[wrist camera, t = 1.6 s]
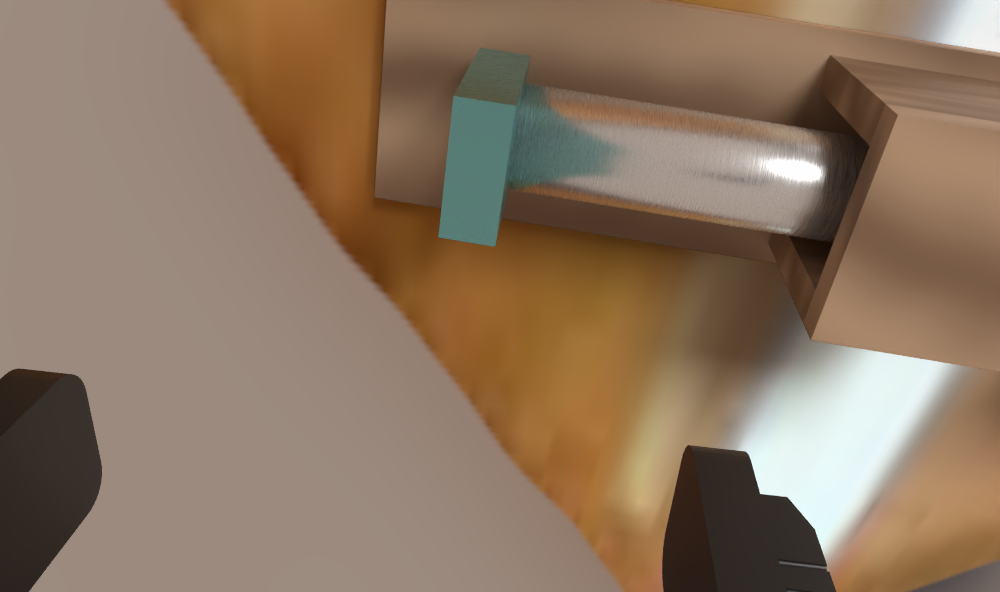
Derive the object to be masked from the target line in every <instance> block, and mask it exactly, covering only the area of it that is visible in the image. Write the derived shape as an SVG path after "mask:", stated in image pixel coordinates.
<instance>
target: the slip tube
mask: <svg viewBox="0 0 1000 592" xmlns="http://www.w3.org/2000/svg"><path fill="white" fill-rule="evenodd" d="M530 56H531V55H525V54H518V53H512V52H506V51H500V50H493V49H487V48H481V47H480V48H479V50H478V52H477V54H476V56H475V57H474V59H473V61H472V63H471V65H470V67H469V68H468V70H467V72H466V74H465V76H464V78H463V79H462V81H461V83H460V85H459V87H458V88H457V90H456V92H455V94H454V96H453V105H452V114H451V124H450V133H449V143H448V152H447V161H446V171H445V180H444V189H443V199H442V208H441V217H440V227H439V236H438V237H439V238H445V239H451V240H457V241H463V242H469V243H475V244H481V245H487V246H493V247H495V246H496V242H497V238H498V233H499V229H500V225H501V221H502V217H503V213H504V208H505V204H506V200H507V196H508V192H509V190H514V191H521V192H527V193H533V194H539V195H545V196H551V197H557V198H563V199H569V200H576V201H582V202H588V203H594V204H600V205H606V206H612V207H618V208H624V209H631V210H637V211H643V212H649V213H655V214H661V215H667V216H673V217H679V218H685V219H692V220H698V221H704V222H710V223H716V224H722V225H728V226H734V227H740V228H747V229H753V230H759V231H765V232H771V233H777V234H783V235H789V236H795V237H802V238H808V239H814V240H820V241H826V242H832V243H833V242H834V240H835V237H836V234H837V232H838V229H839V226H840V224H841V221H842V218H843V216H844V213H845V210H846V208H847V205H848V202H849V200H850V197H851V194H852V192H853V189H854V186H855V184H856V181H857V179H858V176H859V173H860V171H861V168H862V165H863V163H864V160H865V157H866V155H867V152H868V149H869V147H870V146H869V145H868V144H867V143H866V141H865V140H864V139H863V138H862V137H858V136H852V135H845V134H839V133H833V132H827V131H820V130H814V129H808V128H802V127H796V126H789V125H783V124H777V123H771V122H765V121H758V120H752V119H746V118H740V117H734V116H727V115H721V114H715V113H709V112H702V111H696V110H690V109H684V108H678V107H671V106H665V105H659V104H653V103H647V102H640V101H634V100H628V99H622V98H615V97H609V96H603V95H597V94H591V93H584V92H578V91H572V90H566V89H560V88H553V87H547V86H541V85H535V84H529V83H526V82H527V75H528V69H529V62H530Z"/></svg>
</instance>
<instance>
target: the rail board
mask: <svg viewBox="0 0 1000 592" xmlns="http://www.w3.org/2000/svg"><path fill="white" fill-rule="evenodd" d="M480 47H481V48H487V49H493V50H500V51H506V52H512V53H518V54H525V55H531V56H530V62H529V69H528V75H527V82H526V83H529V84H535V85H541V86H547V87H553V88H560V89H566V90H572V91H578V92H584V93H591V94H597V95H603V96H609V97H615V98H622V99H628V100H634V101H640V102H647V103H653V104H659V105H665V106H671V107H678V108H684V109H690V110H696V111H702V112H709V113H715V114H721V115H727V116H734V117H740V118H746V119H752V120H758V121H765V122H771V123H777V124H783V125H789V126H796V127H802V128H808V129H814V130H820V131H827V132H833V133H839V134H845V135H852V136H858V137H862V138H863V139H864V140H865V141H866V143H867V144H868V145H869V146H870V147H869V149H868V152H867V155H866V157H865V160H864V163H863V165H862V168H861V171H860V173H859V176H858V179H857V181H856V184H855V186H854V189H853V192H852V194H851V197H850V200H849V202H848V205H847V208H846V210H845V213H844V216H843V218H842V221H841V224H840V226H839V229H838V232H837V234H836V237H835V240H834V242H833V243H832V242H826V241H820V240H814V239H808V238H802V237H795V236H789V235H783V234H777V233H771V232H765V231H759V230H753V229H747V228H740V227H734V226H728V225H722V224H716V223H710V222H704V221H698V220H692V219H685V218H679V217H673V216H667V215H661V214H655V213H649V212H643V211H637V210H631V209H624V208H618V207H612V206H606V205H600V204H594V203H588V202H582V201H576V200H569V199H563V198H557V197H551V196H545V195H539V194H533V193H527V192H521V191H514V190H509V192H508V196H507V200H506V204H505V208H504V213H503V217H502V219H508V220H514V221H520V222H526V223H533V224H539V225H545V226H551V227H557V228H563V229H569V230H575V231H581V232H587V233H593V234H599V235H606V236H612V237H618V238H624V239H630V240H636V241H642V242H648V243H654V244H660V245H666V246H672V247H678V248H685V249H691V250H697V251H703V252H709V253H715V254H721V255H727V256H733V257H739V258H745V259H751V260H757V261H764V262H770V263H776V264H778V267H779V269H780V271H781V273H782V276H783V278H784V280H785V283H786V285H787V287H788V289H789V292H790V294H791V296H792V298H793V301H794V303H795V305H796V308H797V310H798V312H799V314H800V317H801V319H802V321H803V323H804V326H805V328H806V330H807V333H808V335H809V337H810V339H811V340H812V341H818V342H824V343H830V344H836V345H842V346H848V347H854V348H860V349H866V350H873V351H879V352H885V353H891V354H897V355H903V356H909V357H915V358H921V359H927V360H933V361H939V362H945V363H951V364H957V365H963V366H969V367H975V368H981V369H987V370H993V371H999V372H1000V53H997V52H991V51H985V50H978V49H972V48H966V47H959V46H953V45H947V44H941V43H934V42H928V41H922V40H915V39H909V38H903V37H896V36H890V35H884V34H877V33H871V32H865V31H858V30H852V29H846V28H840V27H833V26H827V25H821V24H814V23H808V22H802V21H795V20H789V19H783V18H776V17H770V16H764V15H757V14H751V13H745V12H738V11H732V10H726V9H720V8H713V7H707V6H701V5H694V4H688V3H682V2H675V1H669V0H387V2H386V18H385V34H384V51H383V67H382V83H381V99H380V115H379V132H378V148H377V164H376V180H375V196H374V198H381V199H387V200H393V201H399V202H405V203H411V204H417V205H423V206H429V207H435V208H442V199H443V189H444V180H445V171H446V161H447V152H448V143H449V133H450V124H451V114H452V105H453V96H454V94H455V92H456V90H457V88H458V87H459V85H460V83H461V81H462V79H463V78H464V76H465V74H466V72H467V70H468V68H469V67H470V65H471V63H472V61H473V59H474V57H475V56H476V54H477V52H478V50H479V48H480Z"/></svg>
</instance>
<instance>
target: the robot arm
mask: <svg viewBox="0 0 1000 592" xmlns="http://www.w3.org/2000/svg"><path fill="white" fill-rule="evenodd" d="M101 478H102V466H101V460H100V455H99V450H98V445H97V441H96V436H95V431H94V426H93V421H92V417H91V412H90V407H89V402H88V398H87V393H86V389H85V386H84V384H83V382H82V380H81V379H80V378H79V377H78V376H76V375H72V374H63V373H54V372H45V371H36V370H28V369H14V370H12V371H10V372H8V373H7V374H6V375H4V376H3V377H2V378H1V379H0V592H29V591H30V589H31V588H32V587H33V585H34V584H35V582H36V581H37V580H38V579H39V577H40V576H41V575H42V573H43V572H44V571H45V570H46V568H47V567H48V566H49V564H50V563H51V561H52V560H53V559H54V558H55V557H56V555H57V554H58V552H59V551H60V550H61V549H62V547H63V546H64V545H65V543H66V542H67V541H68V540H69V538H70V537H71V536H72V534H73V533H74V532H75V530H76V529H77V528H78V526H79V525H80V524H81V523H82V521H83V520H84V519H85V517H86V516H87V515H88V513H89V512H90V510H91V509H92V507H93V505H94V503H95V501H96V498H97V496H98V493H99V489H100V485H101ZM826 566H827V564H826V561H825V558H824V555H823V552H822V549H821V546H820V543H819V541H818V538H817V535H816V532H815V529H814V528H813V527H812V526H811V524H810V523H809V522H808V521H807V520H806V519H805V517H804V516H803V515H802V514H801V513H800V512H799V510H798V509H797V508H796V507H795V506H794V505H793V503H792V502H791V501H790V500H789V499H788V497H780V496H772V495H763V494H760V492H759V489H758V485H757V481H756V478H755V474H754V471H753V467H752V463H751V460H750V457H749V455H748V454H747V453H746V452H744V451H735V450H726V449H717V448H708V447H699V446H690V445H688V446H687V447H686V448H685V450H684V453H683V457H682V461H681V465H680V469H679V474H678V478H677V483H676V487H675V492H674V496H673V501H672V505H671V510H670V514H669V519H668V523H667V528H666V533H665V539H664V546H663V560H662V578H663V590H664V592H836V590H835V587H834V584H833V581H832V578H831V575H830V572H827V570H826Z"/></svg>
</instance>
